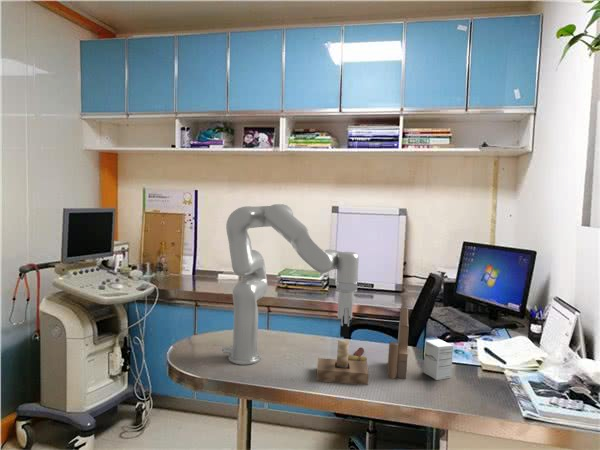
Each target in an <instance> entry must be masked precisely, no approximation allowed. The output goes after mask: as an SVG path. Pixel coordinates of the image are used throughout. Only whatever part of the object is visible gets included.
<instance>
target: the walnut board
mask: <svg viewBox="0 0 600 450" xmlns="http://www.w3.org/2000/svg"><path fill="white" fill-rule="evenodd" d="M316 369H317V370H316V382H326V383H327V382H328V383H338V384H339V383H340V384H353V385H363V386H364V385H366V386H369V376H370V375H369V369H368V365H367V364H366V362H364V361H350V360H348V369H343V368H337V358H336V359H334V358H323V357H321V358H320V357H318V358H317V368H316Z"/></svg>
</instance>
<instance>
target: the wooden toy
mask: <svg viewBox="0 0 600 450" xmlns="http://www.w3.org/2000/svg"><path fill="white" fill-rule="evenodd" d="M409 327H410V326H409V308H408V307H407V306H400V314H399V323H398V336H397V342H394V341H389V343H388V354H387V355H388V356H387V357H388V358H387V378H388V379H396V378H397V379H407V372H408V369H407V368H408V357H409V355H408V347H409V346H408V342H409Z"/></svg>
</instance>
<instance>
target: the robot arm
mask: <svg viewBox="0 0 600 450" xmlns="http://www.w3.org/2000/svg"><path fill="white" fill-rule="evenodd" d="M225 225H226V227H225V228H226V235H227V241H228V246H229V247H228V249H229V254H230V261H231V262H230V263H231V269H232V271H233V273H234V274H235V275H236V276H239V277H244V278H245V279H242V280H240V281H238V282H237V283H236V284H235V286H234V287H233V289H232V303H233V330H232V331H233V333H232V345H230V346H225V345H223V346H222V348H221V351H222V352H223V354H228V359H227V360H228V361H229V362H230V363H232V364H236V365H242V366H243V365H246V366H247V365H252V364H255V363H258V362H259V361H260V360H261V354H260V353H259V352H258V331H259V307H258V300H260V299H262V298H263V297H265V295H266V294H267V292H268V289H269V286H268V277H267V271H266V265H265V259H264V257H263V255H262V254H261V252H259V251H257V250H256V249H252V241H251V238H250V235H249V233H248V230H249V229H254V228H268V227H271V228H273V230H275V232H277V233H278V234H279V235H280V236H282V237H283V238H284V239H285V240H286V241H287V242H288V243H290V245H291V246H292V248H293V249H294V250H295V252H296V254H297V255H298V256H299V257H300V258H301V259H302V261H304V262H305V263H306V264H307V265H308V266H309V267H310V268H312V269H313V270H314V271H316V272H318V273H320V274H325V273H329V272H330V271H333V270H336V285H335V286H336V288H335V290H336V291H338V295H337V296H338V299H337V319H338V320H341V322H340V327H339V328H340V329H339V331H340V332H339V337H341V338H349V337H350V320H352V318H353V311H354V310H353V309H354V297H355V296H354V293H357V292H358V276H359V261H360V260H359V255H358V254H357V253H356V252H353V251H339V250H333V249H326V250H324V249H322V248H321V247H320V246H319V245H318V244H317V243H316V242H315V241H314V240H313V239H312V238H311V236H310V235H309V229H308V227H307V226H306V225H304V224H303V223H302V222H301V221H300V220H299V219H298V218H297V217H295V216H294V212H293V209H292V208H291V207H290V206H288V205H287V204H284V203H283V204H281V203H279V204H278V203H277V204H271V205H263V206H262V205H261V206H258V205H257V206H251V205H250V206H241V207H238V208H237V209H235V210H233V211H232V212H231V213H230V214H229V215H228V218H227V220H226V224H225Z"/></svg>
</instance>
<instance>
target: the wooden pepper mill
mask: <svg viewBox="0 0 600 450" xmlns="http://www.w3.org/2000/svg"><path fill="white" fill-rule="evenodd" d="M349 349H350V341H349V340H347V339H338V340H337V353H336V356H337V357H336V359H337V368H343V369H348V355H349Z"/></svg>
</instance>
